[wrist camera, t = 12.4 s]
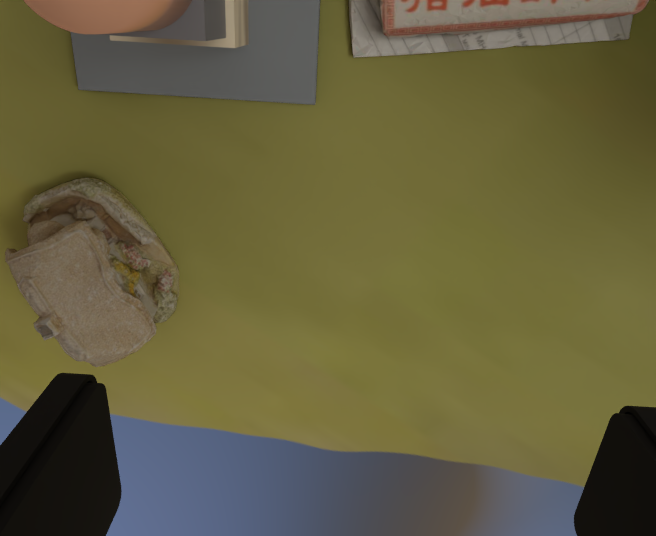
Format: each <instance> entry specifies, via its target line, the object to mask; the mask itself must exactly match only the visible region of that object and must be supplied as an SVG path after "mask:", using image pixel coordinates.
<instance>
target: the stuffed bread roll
mask: <svg viewBox="0 0 656 536" xmlns="http://www.w3.org/2000/svg"><path fill="white" fill-rule="evenodd" d="M23 221H25V222H28V234H27V239H28V245H29V247H27V248H24V249H21V250H19V251H16V250H15V249H7V250H6V252H5V255H6V258H5V261H6V262H7V263H8V265H9V267H10V270H11V272H12V275H13V277H14V279H15V280H16V282H17V284H18V285H17V286H18V288H19V290H20V292H21V293H22V295H23V296H24V297H25V299H26V300H27V301H28V303H29V304H30V306H31V307H32V308H33V310H34V311H35V312H36V314H38V315H39V319H38V320H37V321H36V322H35V323H34V327H35V329H36V330H37V332H39V333H40V334H41V335H42V337H43V339H44V340H47V339H50V338H52V337H55V338H56V339H57V341H58V342H59V344H60V345H61V347H62V348H63V350H64V351H65V353H67V354H68V355H69V356H71V357H72V358H73V359H75V360H76V361H86V362H89V363H90V364H91V365H93V366H95V367H98V366H105V365H107V364H110V363H113V362H116V361H118V360H120V359H123V358H125V357H126V356H128V355H129V354H132V353H134V352H136V351H138V350H139V349H140V348H141V347H142V346H143V345H144V344H145V343H146V342H147V341H150V339H151V338H152V337H153V336H154V335H155V334H156V329H157V328H156V326H155V323H158V322H159V323H162V322H164V321H166V320H167V319H168V318H169V317H170V316H171V315H172V314H173V312H174V311H175V310H176V306H177V300H178V297H179V270H178V267H177V265H176V263H175V261H174V260H173V258H172V257H171V255H170V254H169V252H168V251H167V249H166V248H165V247H164V245H163V244H162V242H161V241H160V239H159V238H158V236H157V235H156V233H155V232H154V231H153V229H152V228H151V227H150V225H149V224H148V223H147V221H146V220H145V219H144V218H143V217H142V215H141V214H140V213H139V212H138V211H137V210H136V208H135V207H134V206H133V205H132V204H131V203H130V202H129V201H128V200H127V198H126V197H125V196H124V195H123V194H122V193H121V192H119V191H118V190H116V189H115V188H114V187H112V186H111V185H109V184H108V183H106V182H104V181H102V180H100V179H95V178H80V179H76V180H73V181H70V182H66V183H63V184H60V185H58V186H55V187H53V188H51V189H49V190H46V191H45V192H42V193H41V194H40V195H35V196H34V197H33V198H32V199H31V200H30V201H29V202H28V203H27V204H26V205H25V208H24V218H23Z"/></svg>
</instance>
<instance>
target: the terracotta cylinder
mask: <svg viewBox="0 0 656 536" xmlns="http://www.w3.org/2000/svg"><path fill="white" fill-rule="evenodd" d="M23 1H24V2H25V3H26V4H27V5H28V6H29V7H30V8H31V9H32V10H33V11H35V12H36V13H37V14H38V15H39V16H41V17H42V18H44V19H45V20H46V21H48V22H50V23H52V24H53V25H55V26H57V27H59V28H62V29H64V30H67V31H71V32H74V33H79V34H111V33H128V32H145V31H155V30H159V29H162V28H165V27H167V26H169V25H171V24H172V23H174V22H175V21H177V20H178V19H179V18H180V17H181V16H182V15H183V14H184V12H185V11H186V10H187V9H188V7H189V5H190V3H191V1H192V0H23Z"/></svg>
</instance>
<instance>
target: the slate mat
mask: <svg viewBox="0 0 656 536" xmlns="http://www.w3.org/2000/svg"><path fill="white" fill-rule="evenodd" d="M319 16H320V0H248V31H249V44H248V45H245V46H241V47H237V48H224V47H208V46H192V45H176V44H160V43H144V42H128V41H112V40H110V35H96V34H79V33H74V32H71V31H70V32H71V39H72V46H73V54H74V61H75V68H76V75H77V82H78V89H79V90H91V91H107V92H123V93H139V94H154V95H170V96H186V97H202V98H218V99H233V100H249V101H265V102H281V103H297V104H312V105H315V102H316V81H317V59H318V38H319Z"/></svg>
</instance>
